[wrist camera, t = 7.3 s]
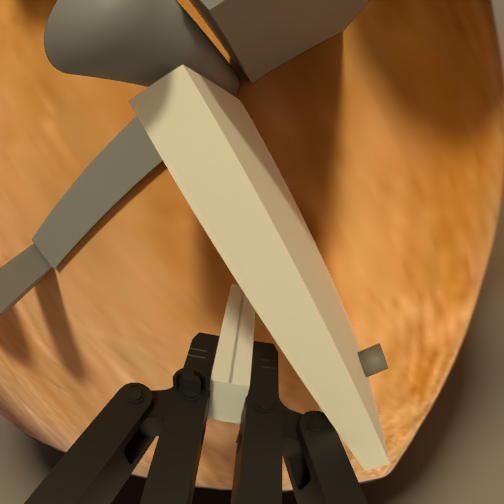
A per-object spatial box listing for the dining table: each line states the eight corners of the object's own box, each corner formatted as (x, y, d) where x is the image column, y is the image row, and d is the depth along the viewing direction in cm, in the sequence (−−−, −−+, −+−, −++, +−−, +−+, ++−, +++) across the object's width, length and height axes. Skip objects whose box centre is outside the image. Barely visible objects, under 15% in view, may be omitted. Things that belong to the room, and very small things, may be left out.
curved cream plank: (219, 112, 14) (129, 101, 5) (262, 89, 13) (243, 31, 4) (338, 339, 19) (365, 471, 10) (371, 326, 19) (414, 454, 9)
